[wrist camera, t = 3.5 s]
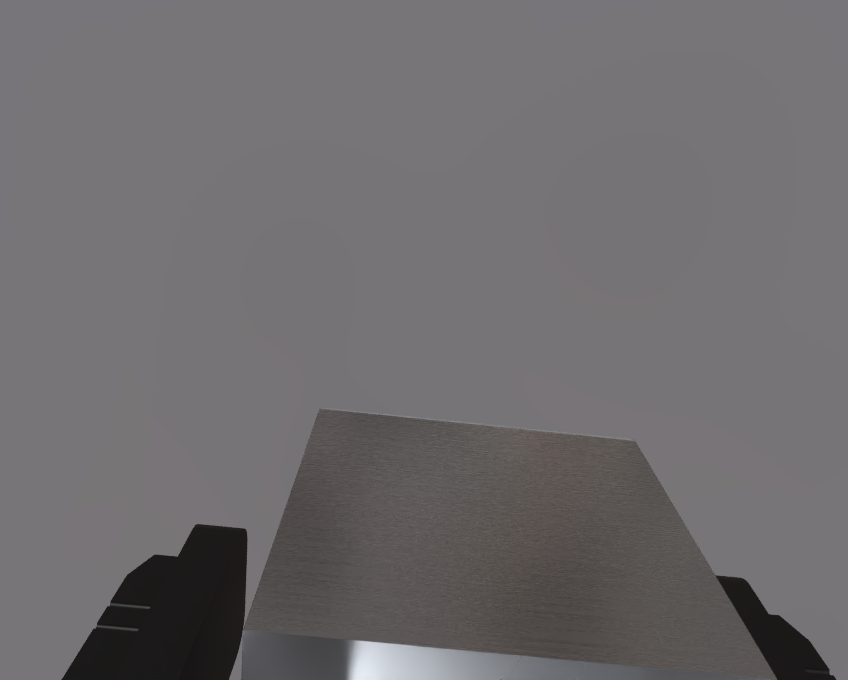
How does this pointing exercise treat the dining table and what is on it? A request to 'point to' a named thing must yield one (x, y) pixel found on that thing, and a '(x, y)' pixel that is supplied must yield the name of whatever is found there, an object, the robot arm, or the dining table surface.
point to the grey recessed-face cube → (485, 562)
